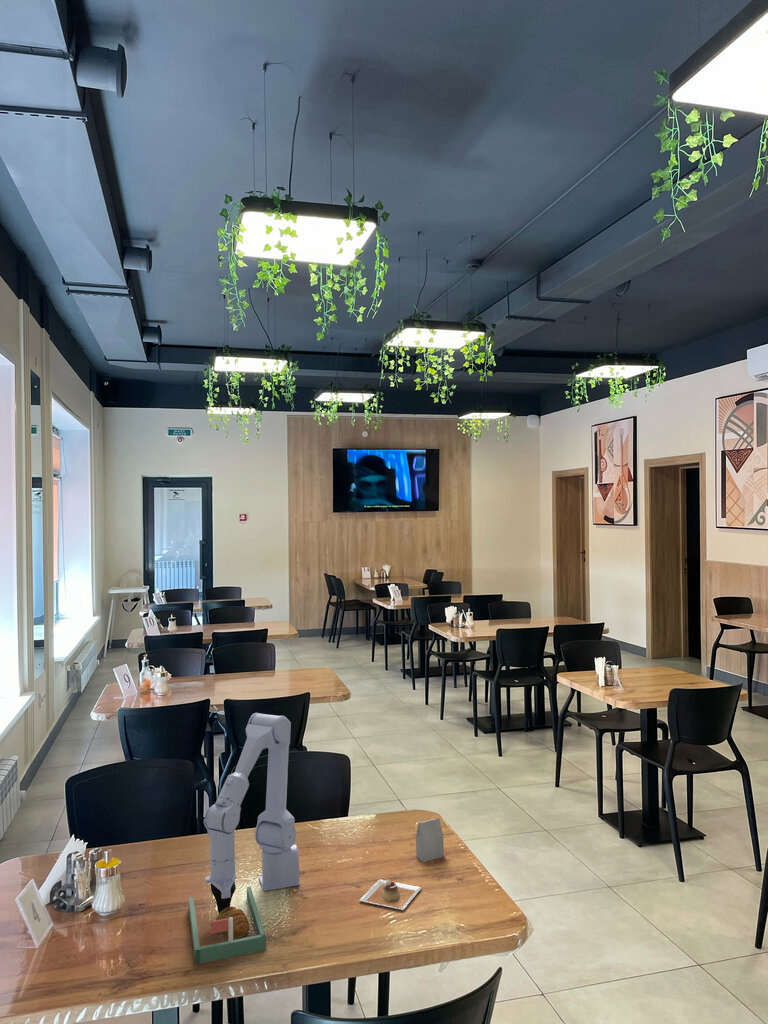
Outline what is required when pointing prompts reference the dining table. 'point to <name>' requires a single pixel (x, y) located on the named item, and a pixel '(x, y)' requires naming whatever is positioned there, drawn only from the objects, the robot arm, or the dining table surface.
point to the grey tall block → (429, 840)
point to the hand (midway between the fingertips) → (223, 915)
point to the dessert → (390, 892)
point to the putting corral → (231, 946)
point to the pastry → (235, 921)
